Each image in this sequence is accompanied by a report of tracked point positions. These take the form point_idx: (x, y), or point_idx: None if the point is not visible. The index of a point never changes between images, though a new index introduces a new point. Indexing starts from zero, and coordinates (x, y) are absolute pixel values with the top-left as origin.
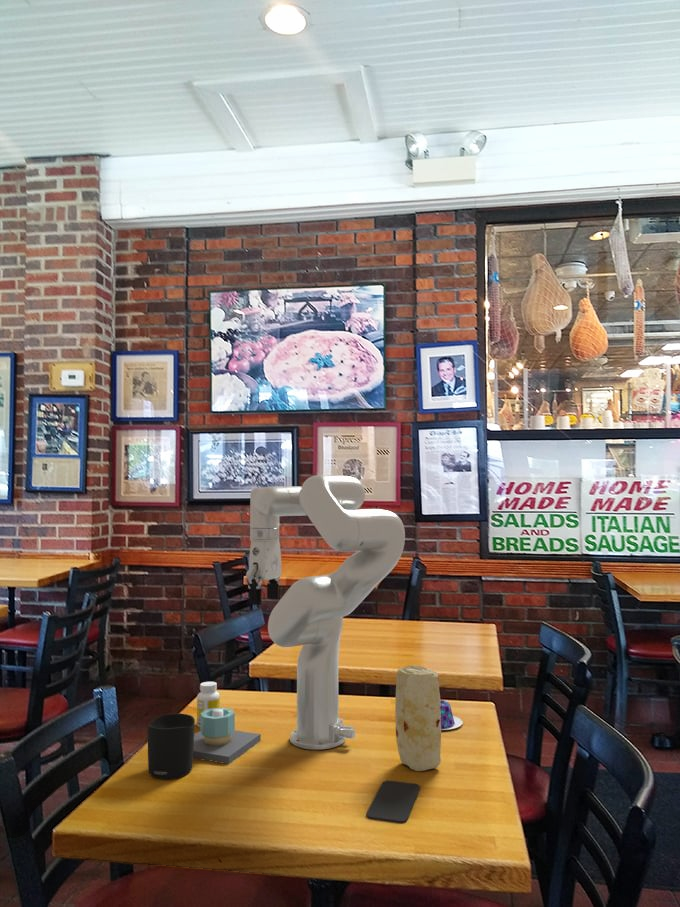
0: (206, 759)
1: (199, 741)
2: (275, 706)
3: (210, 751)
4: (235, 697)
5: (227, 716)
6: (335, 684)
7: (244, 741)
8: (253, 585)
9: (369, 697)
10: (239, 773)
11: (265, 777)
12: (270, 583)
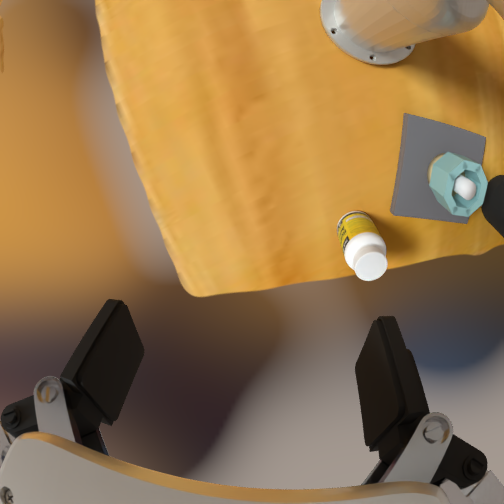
0: None
1: None
2: (221, 158)
3: None
4: (206, 249)
5: (479, 166)
6: None
7: (441, 131)
8: (457, 444)
9: (106, 32)
10: (496, 113)
11: (496, 79)
12: (100, 415)
